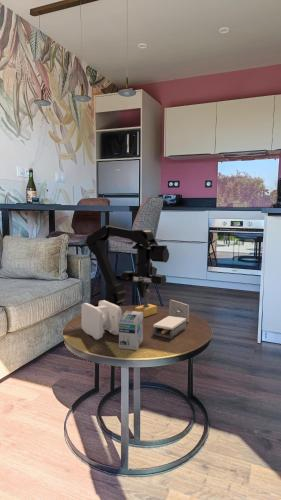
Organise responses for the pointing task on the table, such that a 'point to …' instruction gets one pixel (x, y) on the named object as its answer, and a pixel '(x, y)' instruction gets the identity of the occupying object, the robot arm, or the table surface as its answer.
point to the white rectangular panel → (169, 322)
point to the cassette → (183, 309)
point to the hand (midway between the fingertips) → (142, 297)
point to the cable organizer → (100, 318)
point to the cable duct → (169, 331)
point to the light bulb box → (130, 330)
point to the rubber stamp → (147, 306)
